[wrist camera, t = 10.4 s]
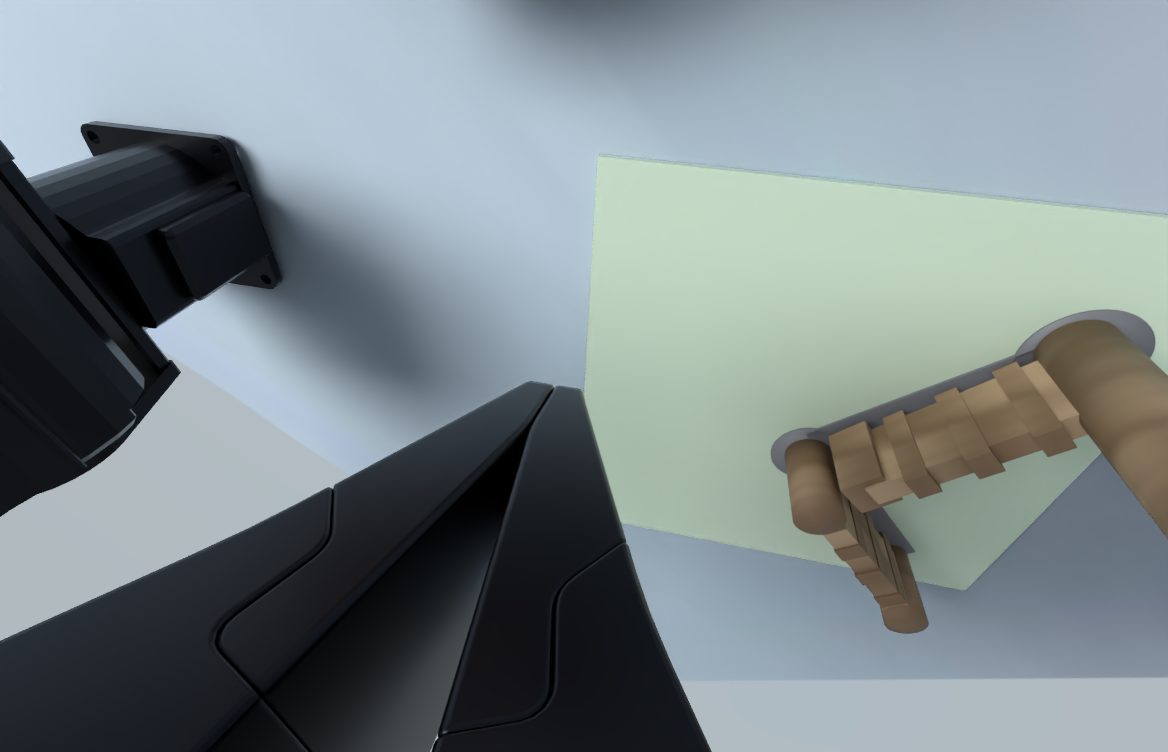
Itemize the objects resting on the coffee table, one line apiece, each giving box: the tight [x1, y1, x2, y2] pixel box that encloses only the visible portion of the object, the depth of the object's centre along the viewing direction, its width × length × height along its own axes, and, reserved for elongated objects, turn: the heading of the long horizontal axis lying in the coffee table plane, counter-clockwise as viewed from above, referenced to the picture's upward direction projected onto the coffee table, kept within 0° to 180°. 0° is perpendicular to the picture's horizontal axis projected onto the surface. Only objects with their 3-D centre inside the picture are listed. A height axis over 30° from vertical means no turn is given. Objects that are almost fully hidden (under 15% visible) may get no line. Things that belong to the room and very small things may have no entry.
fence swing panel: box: [828, 320, 1168, 538], centre depth 16 cm, size 10×3×11 cm, turn 136°
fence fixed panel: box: [784, 439, 929, 633], centre depth 24 cm, size 10×2×4 cm, turn 41°
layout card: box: [584, 154, 1168, 591], centre depth 23 cm, size 21×20×1 cm
